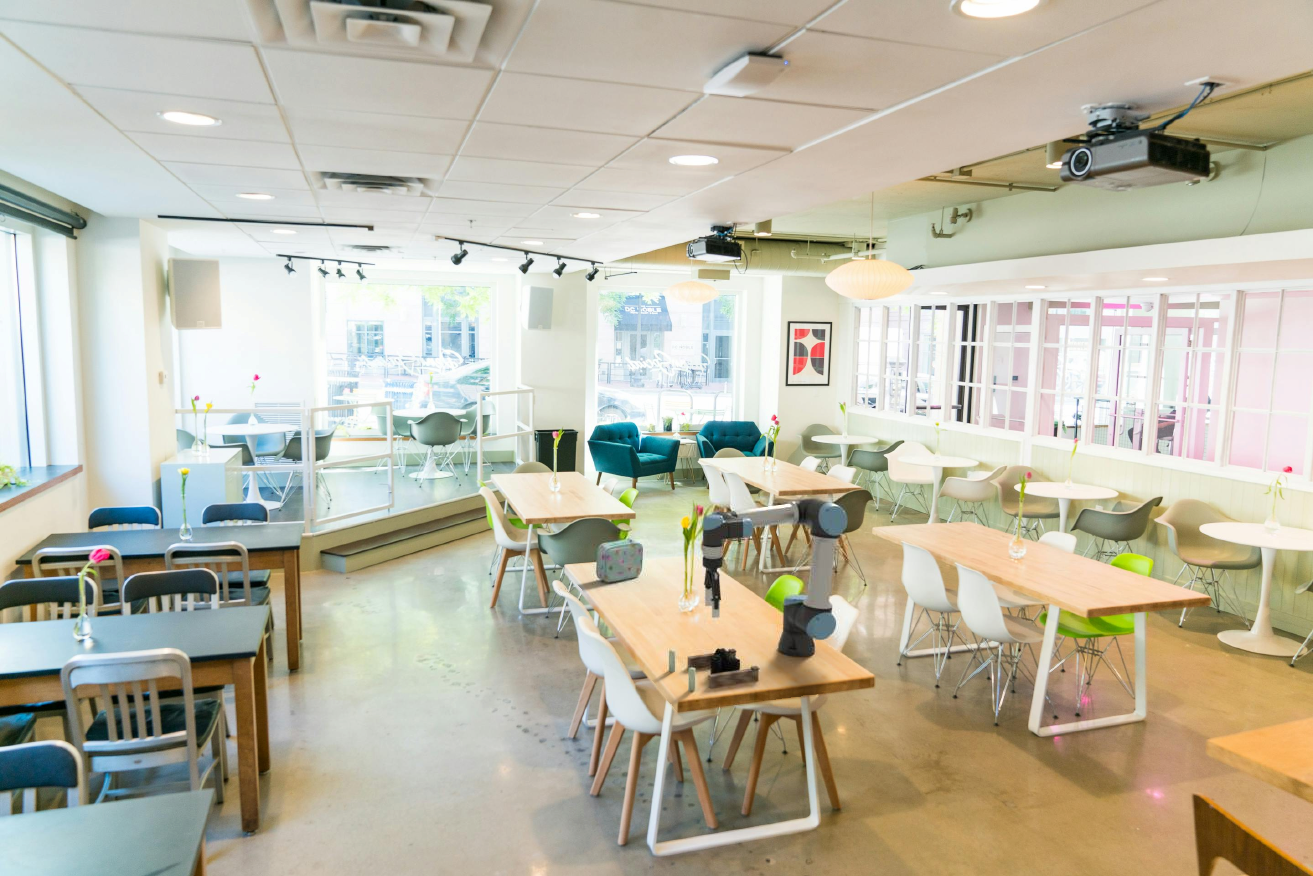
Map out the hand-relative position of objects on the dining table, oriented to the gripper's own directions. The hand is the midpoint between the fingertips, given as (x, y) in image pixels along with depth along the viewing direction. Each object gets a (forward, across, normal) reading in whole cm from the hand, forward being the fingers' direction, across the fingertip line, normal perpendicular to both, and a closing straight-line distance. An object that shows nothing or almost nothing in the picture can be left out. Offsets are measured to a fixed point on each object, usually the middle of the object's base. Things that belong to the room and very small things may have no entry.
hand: (712, 611), depth 311 cm
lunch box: (+26, -135, -24) cm, 140 cm away
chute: (+26, -2, +5) cm, 26 cm away
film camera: (+26, -3, +6) cm, 27 cm away
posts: (+26, +2, -12) cm, 28 cm away
